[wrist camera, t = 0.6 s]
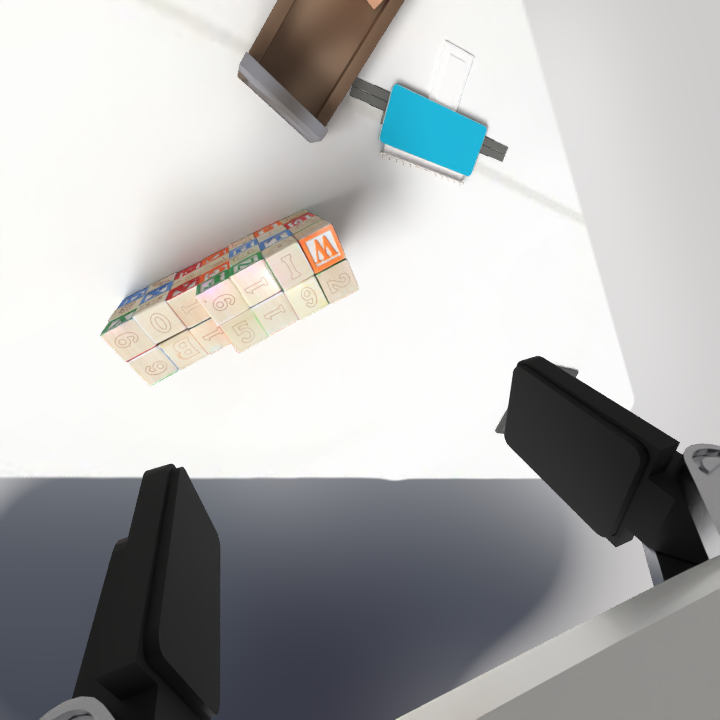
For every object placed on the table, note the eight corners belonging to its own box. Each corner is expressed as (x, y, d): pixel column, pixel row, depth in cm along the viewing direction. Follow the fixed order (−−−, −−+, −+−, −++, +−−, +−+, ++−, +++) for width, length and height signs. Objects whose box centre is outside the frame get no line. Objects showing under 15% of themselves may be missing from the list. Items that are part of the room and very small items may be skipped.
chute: (237, 76, 32) (239, 63, 28) (356, -138, 28) (379, -190, 24) (310, 142, 36) (321, 140, 32) (422, -37, 33) (451, -66, 28)
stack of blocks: (162, 345, 41) (142, 406, 31) (122, 298, 37) (84, 350, 27) (328, 259, 42) (361, 290, 32) (304, 206, 39) (333, 222, 29)
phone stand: (526, 90, 41) (536, 87, 40) (484, 199, 46) (492, 201, 44) (369, 1, 33) (375, -6, 32) (337, 145, 38) (341, 144, 36)
